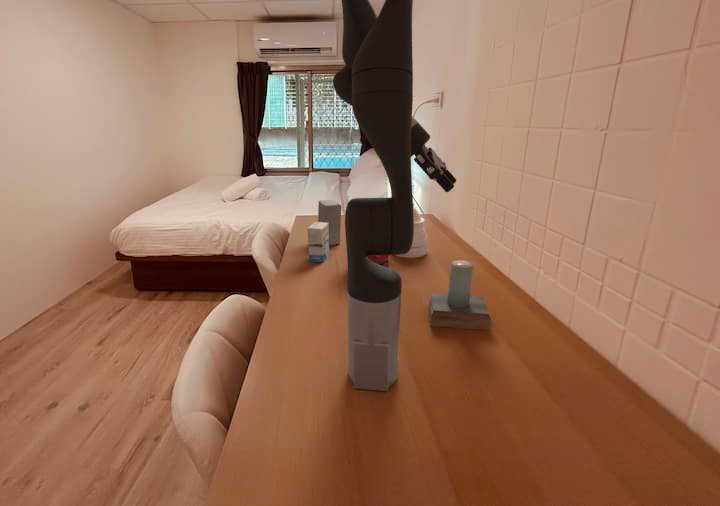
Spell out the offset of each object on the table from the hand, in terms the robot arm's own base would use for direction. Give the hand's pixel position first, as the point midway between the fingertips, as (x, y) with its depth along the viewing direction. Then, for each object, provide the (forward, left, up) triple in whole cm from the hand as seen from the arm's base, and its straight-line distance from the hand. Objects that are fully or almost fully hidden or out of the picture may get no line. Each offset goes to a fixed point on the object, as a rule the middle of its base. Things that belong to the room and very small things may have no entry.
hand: (452, 186), depth 85 cm
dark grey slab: (-7, -3, -30) cm, 31 cm away
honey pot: (+39, +9, -31) cm, 50 cm away
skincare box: (+45, +39, -30) cm, 67 cm away
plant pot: (+22, +21, -30) cm, 43 cm away
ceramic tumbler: (-7, -3, -26) cm, 27 cm away
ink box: (+28, +39, -30) cm, 57 cm away
